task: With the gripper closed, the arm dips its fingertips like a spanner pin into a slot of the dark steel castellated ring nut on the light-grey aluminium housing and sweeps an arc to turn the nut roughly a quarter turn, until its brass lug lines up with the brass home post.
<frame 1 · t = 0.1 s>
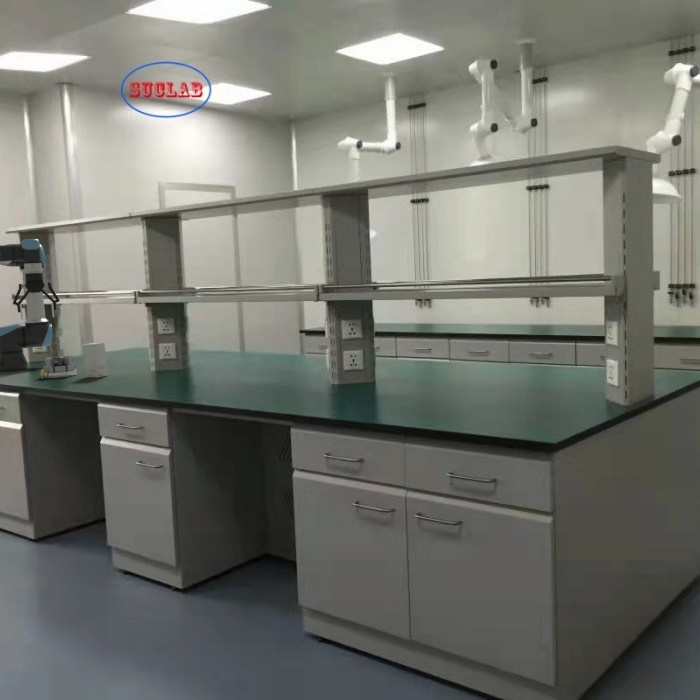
hand: (37, 318, 355), 28 cm above the worktop, fingers open, 13 cm apart
housing: (60, 375, 362), on the worktop
home post: (43, 378, 355), on the worktop
skincare box: (96, 377, 353), on the worktop
ring nut: (59, 363, 361), point 6 cm above the worktop, hinge at 0.0°
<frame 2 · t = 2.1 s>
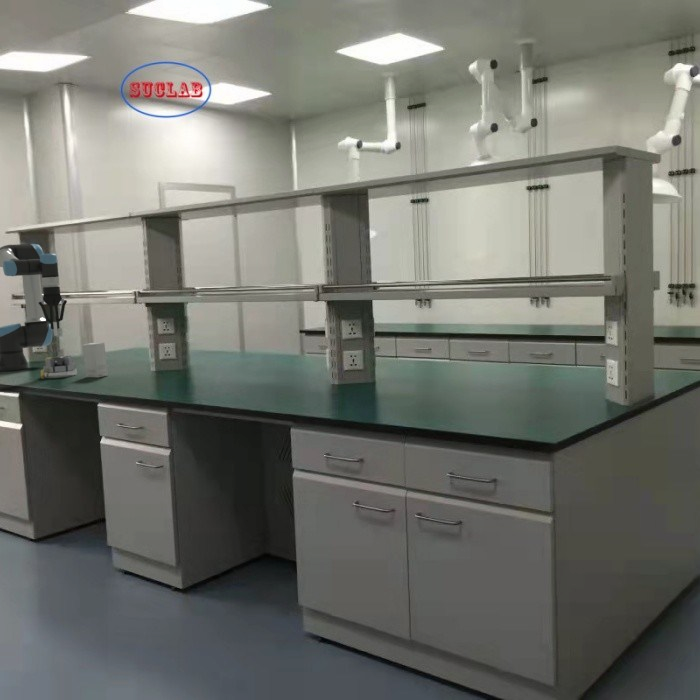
hand: (55, 335, 365), 19 cm above the worktop, fingers closed
nothing on the worktop moved.
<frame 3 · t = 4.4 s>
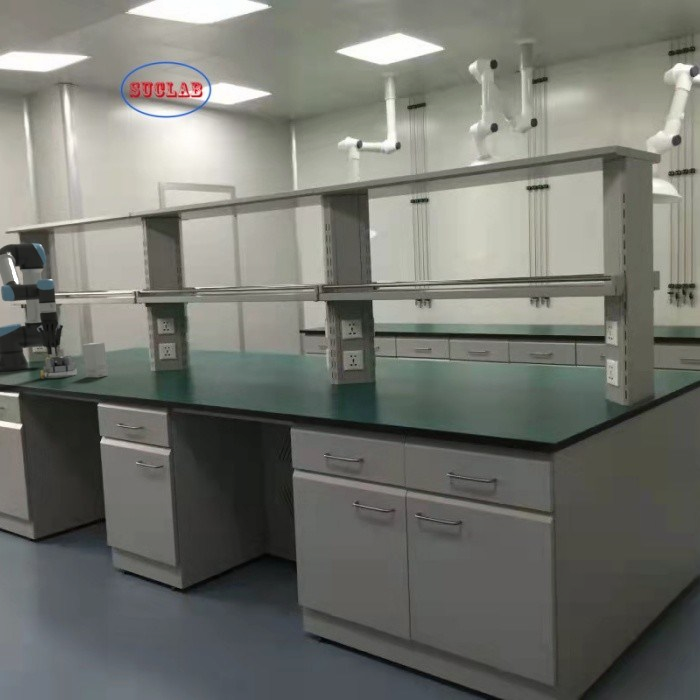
hand: (53, 360, 365), 7 cm above the worktop, fingers closed
ring nut: (59, 363, 361), point 6 cm above the worktop, hinge at 0.0°, touching gripper
everything else where it was.
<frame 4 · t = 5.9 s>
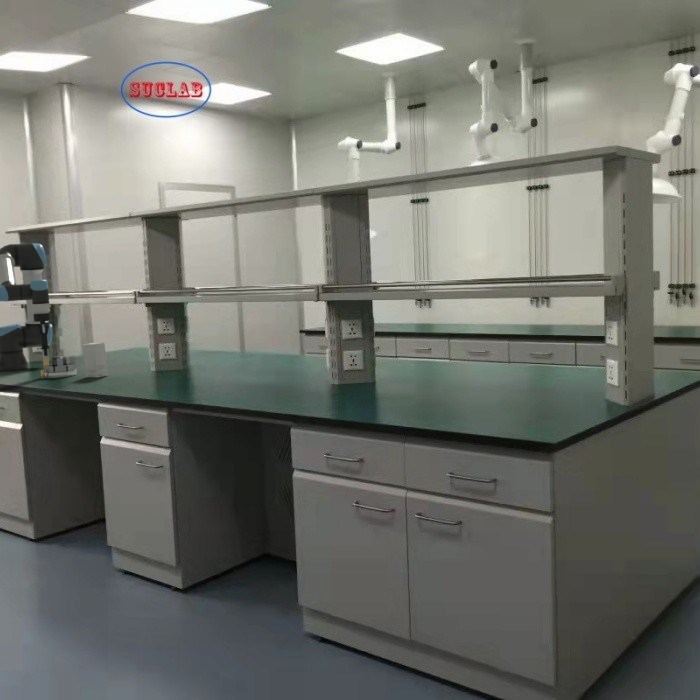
hand: (46, 362, 360), 7 cm above the worktop, fingers closed
ring nut: (59, 363, 361), point 6 cm above the worktop, hinge at 46.3°, touching gripper
everything else where it was.
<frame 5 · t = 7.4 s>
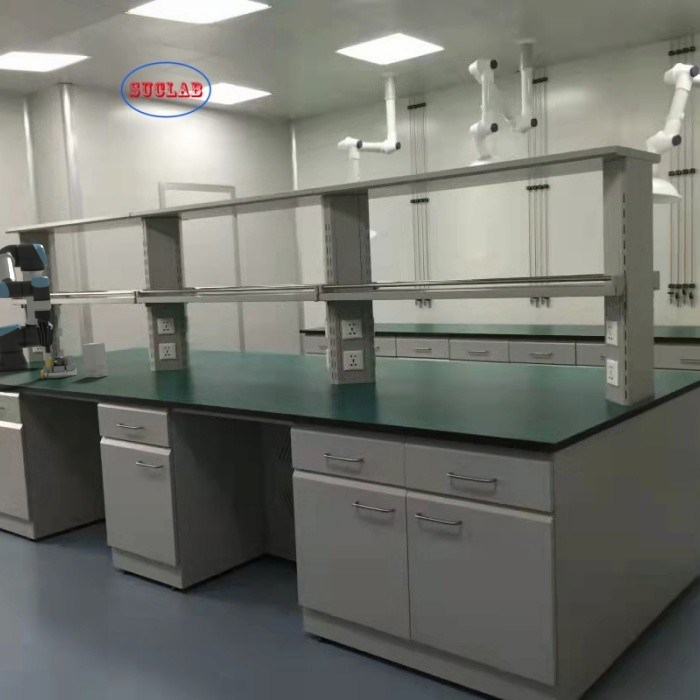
hand: (47, 359, 357), 8 cm above the worktop, fingers closed
ring nut: (59, 363, 361), point 6 cm above the worktop, hinge at 85.3°, touching gripper
everything else where it was.
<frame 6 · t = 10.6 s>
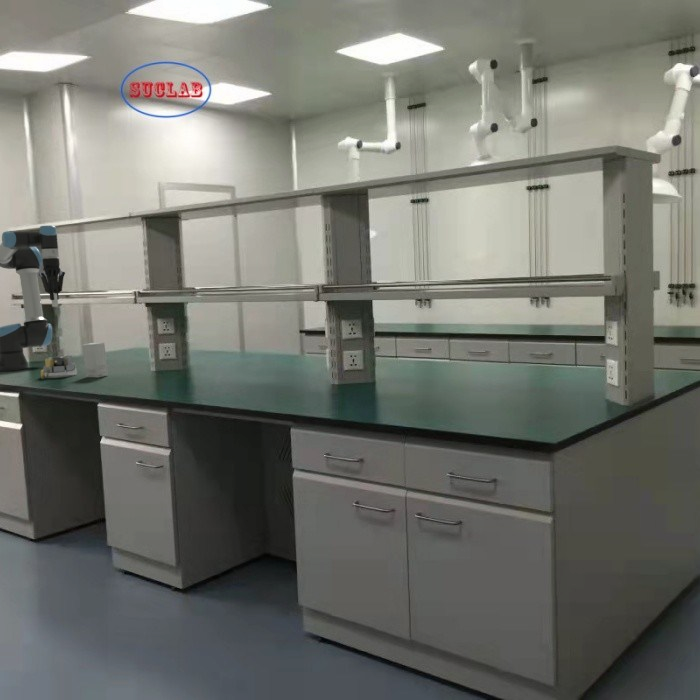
hand: (55, 306, 370), 32 cm above the worktop, fingers closed
ring nut: (59, 363, 361), point 6 cm above the worktop, hinge at 85.3°
everything else where it was.
at the end: ring nut at +85° (first picture: +0°) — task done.
